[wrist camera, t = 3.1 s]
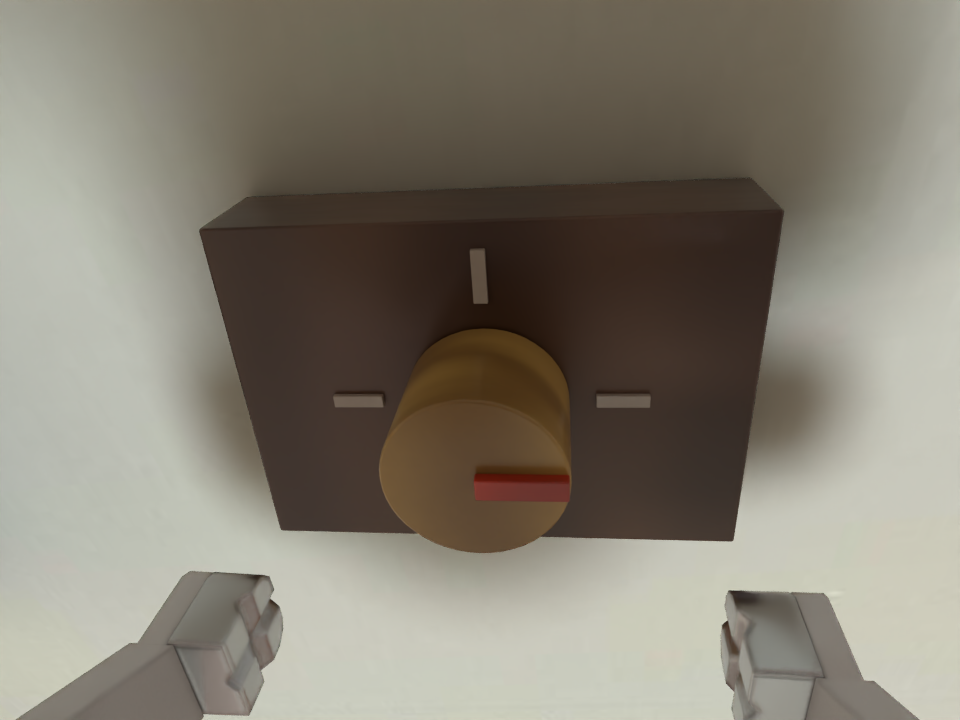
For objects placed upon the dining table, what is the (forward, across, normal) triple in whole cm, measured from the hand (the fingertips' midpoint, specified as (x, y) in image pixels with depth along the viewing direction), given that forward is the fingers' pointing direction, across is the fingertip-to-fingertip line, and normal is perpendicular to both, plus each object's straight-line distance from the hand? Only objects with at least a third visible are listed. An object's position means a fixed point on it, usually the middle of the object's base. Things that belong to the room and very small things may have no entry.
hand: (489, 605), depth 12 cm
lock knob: (+7, +1, 0) cm, 7 cm away
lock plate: (+10, +1, 0) cm, 10 cm away
